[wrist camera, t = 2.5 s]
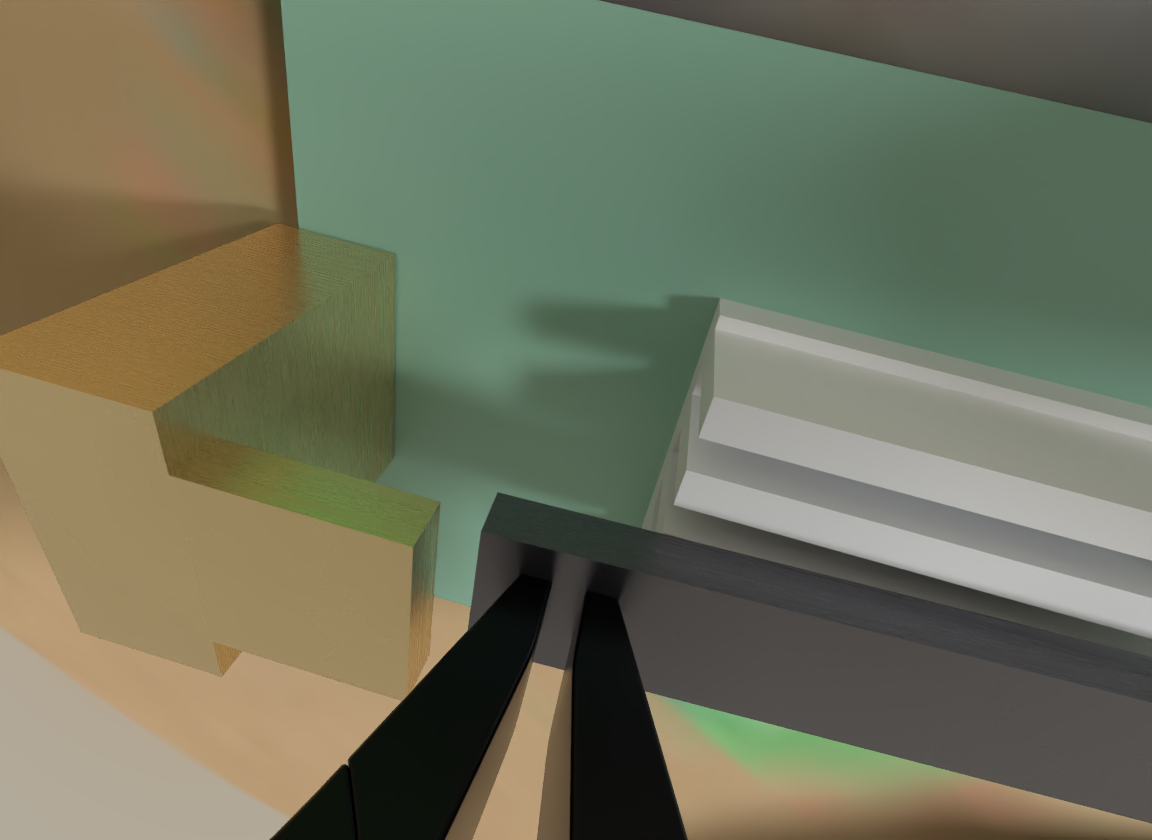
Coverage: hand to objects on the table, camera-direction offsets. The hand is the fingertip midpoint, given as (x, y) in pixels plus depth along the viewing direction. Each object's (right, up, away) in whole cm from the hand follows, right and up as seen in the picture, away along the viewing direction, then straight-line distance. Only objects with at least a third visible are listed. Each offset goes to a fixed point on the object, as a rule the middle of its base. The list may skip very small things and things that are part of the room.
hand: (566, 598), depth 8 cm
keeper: (-3, +4, +4) cm, 6 cm away
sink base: (+5, +2, +4) cm, 7 cm away
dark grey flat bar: (+5, -1, 0) cm, 6 cm away
